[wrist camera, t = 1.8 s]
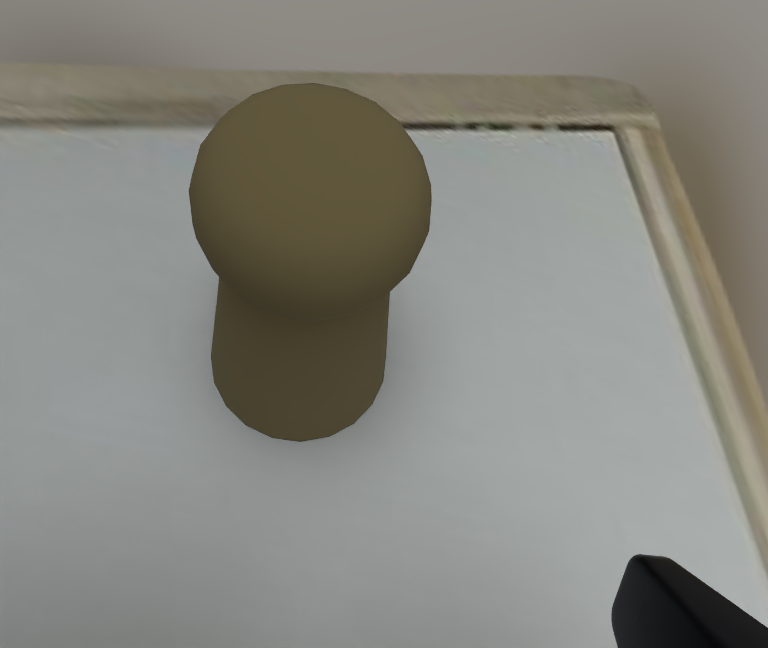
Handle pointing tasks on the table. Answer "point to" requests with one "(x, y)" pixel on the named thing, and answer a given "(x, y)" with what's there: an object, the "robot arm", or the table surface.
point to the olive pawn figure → (306, 252)
